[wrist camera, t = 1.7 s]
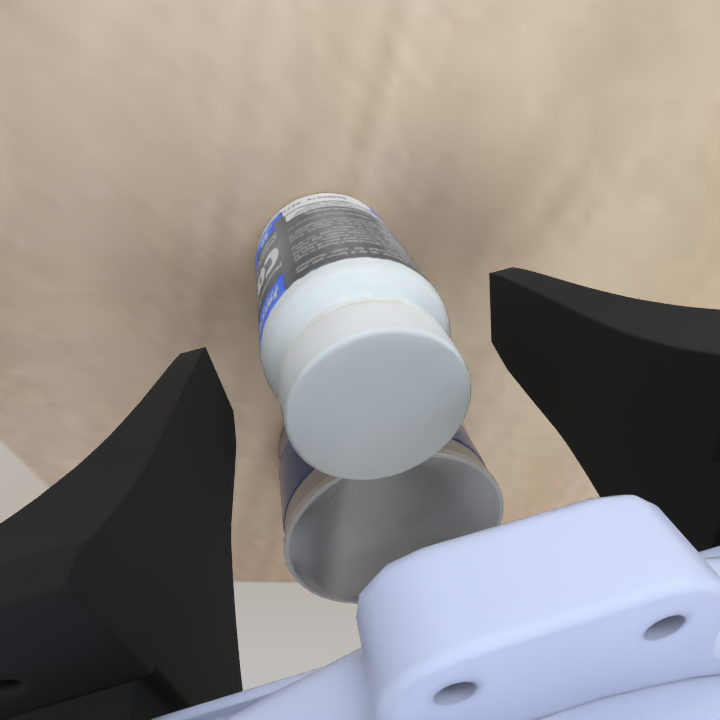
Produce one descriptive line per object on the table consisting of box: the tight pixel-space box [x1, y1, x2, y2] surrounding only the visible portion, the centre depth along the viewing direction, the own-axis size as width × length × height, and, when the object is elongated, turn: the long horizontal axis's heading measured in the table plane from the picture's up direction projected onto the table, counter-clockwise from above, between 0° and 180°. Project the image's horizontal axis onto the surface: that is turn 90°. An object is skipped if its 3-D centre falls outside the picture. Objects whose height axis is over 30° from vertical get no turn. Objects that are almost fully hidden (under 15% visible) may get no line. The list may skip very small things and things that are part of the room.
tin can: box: [279, 424, 504, 604], centre depth 20 cm, size 8×8×5 cm
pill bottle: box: [255, 193, 471, 480], centre depth 13 cm, size 5×5×8 cm
